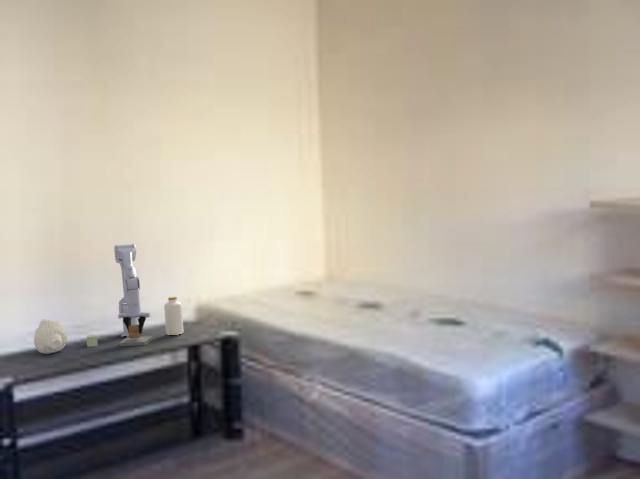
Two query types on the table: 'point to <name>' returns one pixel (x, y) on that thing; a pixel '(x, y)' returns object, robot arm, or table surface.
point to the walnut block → (134, 331)
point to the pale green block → (91, 340)
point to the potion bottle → (173, 317)
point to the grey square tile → (136, 341)
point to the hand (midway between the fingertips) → (135, 333)
